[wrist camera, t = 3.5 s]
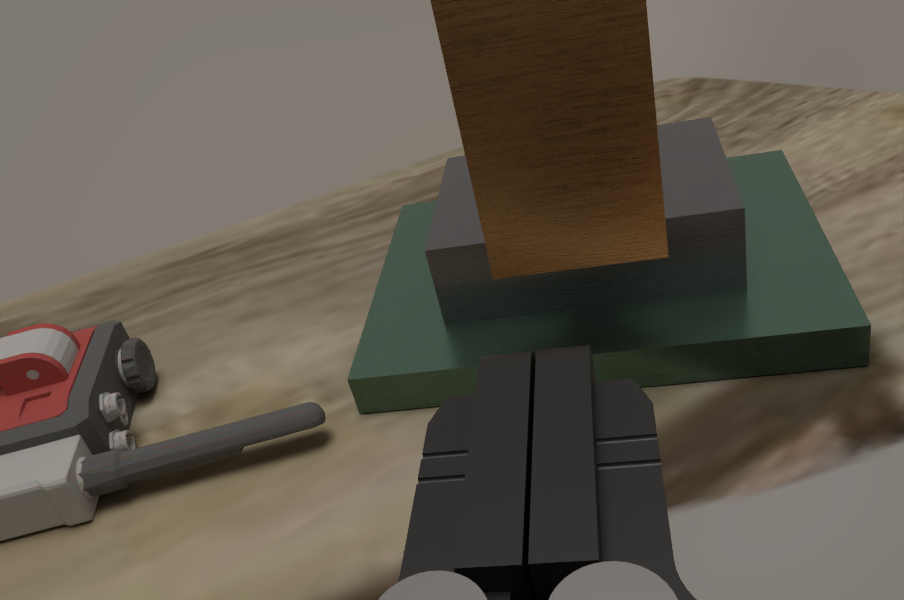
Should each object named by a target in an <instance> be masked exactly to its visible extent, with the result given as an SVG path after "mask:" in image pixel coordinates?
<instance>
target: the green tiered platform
mask: <svg viewBox="0 0 904 600" xmlns="http://www.w3.org/2000/svg"><path fill="white" fill-rule="evenodd" d="M657 131H658V142H659V154H660V165H661V176H662V188H663V199H664V210H665V222H666V233H667V245H668V256H669V257H666V258H658V259H650V260H642V261H634V262H626V263H618V264H610V265H602V266H594V267H586V268H578V269H570V270H562V271H554V272H546V273H538V274H531V275H523V276H515V277H507V278H499V279H493V277H492V272H491V268H490V263H489V259H488V254H487V250H486V245H485V241H484V237H483V232H482V228H481V223H480V219H479V214H478V210H477V205H476V201H475V196H474V192H473V188H472V183H471V179H470V174H469V170H468V165H467V161H466V156H459V157H453V158H448V159H447V163H446V167H445V171H444V175H443V179H442V183H441V187H440V191H439V195H438V199H437V201H430V202H423V203H416V204H409V205H403V206H402V209H401V212H400V215H399V218H398V221H397V225H396V228H395V231H394V234H393V237H392V240H391V244H390V247H389V250H388V253H387V256H386V259H385V263H384V266H383V269H382V272H381V275H380V278H379V282H378V285H377V288H376V291H375V294H374V297H373V301H372V304H371V307H370V310H369V313H368V316H367V320H366V323H365V326H364V329H363V332H362V335H361V339H360V342H359V345H358V348H357V351H356V354H355V358H354V361H353V364H352V367H351V370H350V373H349V377H348V383H349V385H350V388H351V391H352V394H353V396H354V399H355V402H356V405H357V407H358V410H359V413H360V414H363V413H373V412H384V411H394V410H405V409H415V408H426V407H436V406H441V405H442V403H443V402H444V401H445V399H446V398H447V397H450V396H460V395H470V394H475V392H476V384H477V376H478V368H479V361H480V358H481V357H482V356H491V355H500V354H510V353H519V352H528V351H533V352H534V353H535V356H536V352H537V350H545V349H554V348H564V347H573V346H583V345H590V347H591V352H592V358H593V364H594V370H595V377H596V382H601V381H611V380H622V379H632V378H633V379H634V380H635V382H636V383H637V384H638V385H639V387H647V386H657V385H668V384H678V383H689V382H699V381H710V380H720V379H731V378H741V377H752V376H762V375H773V374H783V373H794V372H804V371H815V370H825V369H836V368H846V367H857V366H867V365H868V362H869V347H870V333H871V324H870V322H869V320H868V318H867V316H866V314H865V313H864V311H863V309H862V307H861V305H860V303H859V301H858V299H857V297H856V295H855V293H854V291H853V289H852V287H851V285H850V283H849V281H848V279H847V277H846V275H845V273H844V271H843V269H842V267H841V265H840V263H839V261H838V260H837V258H836V256H835V254H834V252H833V250H832V248H831V246H830V244H829V242H828V240H827V238H826V236H825V234H824V232H823V230H822V228H821V226H820V224H819V222H818V220H817V218H816V216H815V214H814V212H813V210H812V208H811V206H810V205H809V203H808V201H807V199H806V197H805V195H804V193H803V191H802V189H801V187H800V185H799V183H798V181H797V179H796V177H795V175H794V173H793V171H792V169H791V167H790V165H789V163H788V161H787V159H786V157H785V155H784V153H783V152H782V150H778V151H771V152H765V153H758V154H751V155H744V156H737V157H730V158H726V157H725V154H724V151H723V149H722V146H721V143H720V141H719V138H718V135H717V133H716V130H715V127H714V125H713V122H712V119H711V117H708V118H702V119H695V120H689V121H683V122H676V123H670V124H664V125H657Z"/></svg>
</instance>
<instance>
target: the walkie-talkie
mask: <svg viewBox="0 0 904 600" xmlns="http://www.w3.org/2000/svg"><path fill="white" fill-rule="evenodd" d="M155 380H156V374H155V365H154V360H153V358H152V355H151V353H150V350H149V348H148V347H147V345H146V344H145V343H144V342H143V341H142V340H141V339H139V338H132V339H130V338H129V336H128V334H127V333H126V331H125V329H124V327H123V325H122V323H121V322H118V321H108V322H105V323H101V324H97V325H93V326H90V327H86V328H82V329H78V330H75V331H71V332H70V331H68V330H67V329H66V328H64V327H61V326H58V325H55V324H47V323H45V324H37V325H33V326H30V327H26V328H22V329H19V330H15V331H12V332H9V333H8V335H7V337H3V338H0V541H3V540H6V539H10V538H14V537H18V536H22V535H25V534H29V533H33V532H37V531H41V530H44V529H48V528H52V527H56V526H60V525H63V524H65V525H69V526H72V525H75V524H79V523H83V522H86V521H90V520H93V516H94V513H95V510H96V506H97V503H98V499H99V496H100V495H103V494H107V493H111V492H114V491H118V490H122V489H125V488H128V487H129V485H130V483H132V482H135V481H139V480H143V479H146V478H150V477H154V476H157V475H161V474H165V473H168V472H172V471H176V470H179V469H183V468H187V467H190V466H194V465H198V464H201V463H205V462H209V461H212V460H216V459H220V458H223V457H227V456H231V455H234V454H238V453H241V451H242V450H243V447H245V446H249V445H252V444H256V443H260V442H263V441H267V440H271V439H274V438H278V437H281V436H285V435H289V434H292V433H296V432H300V431H303V430H307V429H310V428H314V427H316V426H319V425H321V424H323V423H324V422H325V413H324V411H323V409H322V408H321V407H320V406H319V405H317V404H316V403H312V402H307V403H304V404H300V405H296V406H293V407H289V408H285V409H281V410H278V411H274V412H270V413H266V414H263V415H259V416H255V417H252V418H248V419H244V420H240V421H237V422H233V423H229V424H226V425H222V426H218V427H214V428H211V429H207V430H203V431H200V432H196V433H192V434H188V435H185V436H181V437H177V438H174V439H170V440H166V441H162V442H159V443H155V444H151V445H147V446H144V447H140V448H136V445H135V439H134V437H133V436H130V437H127V435H128V434H131V432H130V431H129V426H130V422H131V418H132V415H133V411H134V407H135V404H136V400H137V396H138V393H142V392H147V391H150V390H151V389H152V388H153V386H154V384H155Z"/></svg>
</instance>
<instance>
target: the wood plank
mask: <svg viewBox="0 0 904 600" xmlns="http://www.w3.org/2000/svg"><path fill="white" fill-rule="evenodd" d="M431 5H432V9H433V14H434V18H435V22H436V27H437V32H438V36H439V40H440V45H441V49H442V54H443V58H444V63H445V67H446V72H447V76H448V80H449V85H450V90H451V94H452V98H453V103H454V107H455V112H456V116H457V121H458V125H459V129H460V134H461V139H462V143H463V147H464V152H465V156H466V161H467V165H468V170H469V174H470V179H471V183H472V188H473V192H474V196H475V201H476V205H477V210H478V214H479V219H480V223H481V228H482V232H483V237H484V241H485V245H486V250H487V254H488V259H489V263H490V268H491V272H492V277H493V279H499V278H507V277H515V276H523V275H531V274H538V273H546V272H554V271H562V270H570V269H578V268H586V267H594V266H602V265H610V264H618V263H626V262H634V261H642V260H650V259H658V258H666V257H669V256H668V245H667V233H666V222H665V210H664V199H663V188H662V176H661V165H660V154H659V142H658V131H657V120H656V108H655V97H654V85H653V74H652V63H651V52H650V40H649V29H648V17H647V6H646V0H431Z"/></svg>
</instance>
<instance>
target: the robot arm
mask: <svg viewBox="0 0 904 600" xmlns="http://www.w3.org/2000/svg"><path fill="white" fill-rule="evenodd" d="M422 454H423V459H421V464H420V469H419V475H418V484H417V486H416V491H415V496H414V502H413V507H412V513H411V518H410V523H409V529H408V534H407V540H406V545H405V550H404V556H403V561H402V567H401V572H400V576H399V580H398V583H396V584H395V585H394V586H392V587H391V588H389V589H388V590H387V591H386V592H385V593H384V594H383V595H382V596H381V597H380V598H379V600H696V599H695V598H694V597H693V596H692V594H691V593H690V592H689V591H688V590H687V589H686V587H685V586H684V584H683V583H682V581H681V580H680V577H679V575H678V573H677V570H676V567H675V563H674V558H673V550H672V543H671V535H670V528H669V521H668V513H667V506H666V498H665V491H664V484H663V476H662V469H661V462H660V454H659V447H658V440H657V432H656V424H655V417H654V410H653V403H652V402H651V400H650V399H649V398H648V397H647V395H646V394H645V393H644V392H643V390H642V389H641V388H640V387H639V385H638V384H637V383H636V382H635V380H634V379H633V378H632V379H622V380H611V381H601V382H596V377H595V370H594V364H593V358H592V352H591V347H590V345H583V346H573V347H564V348H554V349H545V350H537V352H536V356H535V353H534V352H533V351H528V352H519V353H510V354H500V355H491V356H482V357H481V358H480V361H479V368H478V376H477V384H476V392H475V394H470V395H460V396H450V397H447V398H446V399H445V401H444V402H443V403H442V405H441V406H440V408H439V409H438V410H437V412H436V413H435V415H434V416H433V418H432V419H431V420H430V422H429V423H428V426H427V432H426V437H425V442H424V448H423V453H422Z"/></svg>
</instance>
